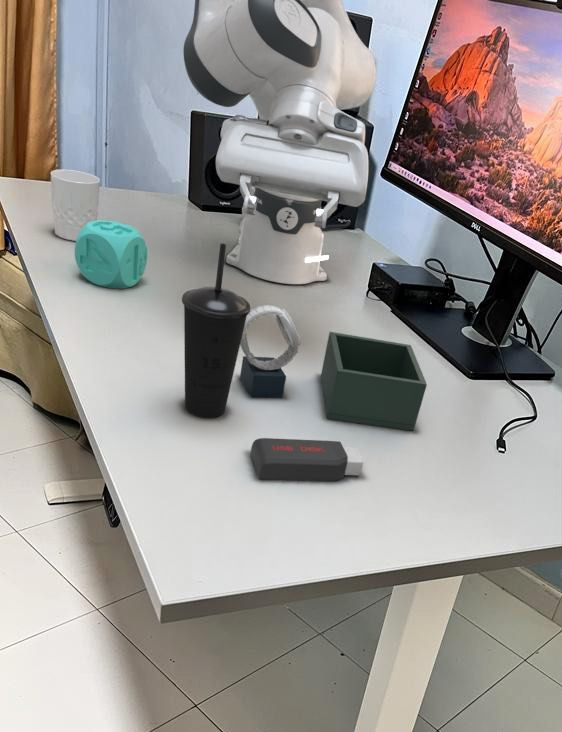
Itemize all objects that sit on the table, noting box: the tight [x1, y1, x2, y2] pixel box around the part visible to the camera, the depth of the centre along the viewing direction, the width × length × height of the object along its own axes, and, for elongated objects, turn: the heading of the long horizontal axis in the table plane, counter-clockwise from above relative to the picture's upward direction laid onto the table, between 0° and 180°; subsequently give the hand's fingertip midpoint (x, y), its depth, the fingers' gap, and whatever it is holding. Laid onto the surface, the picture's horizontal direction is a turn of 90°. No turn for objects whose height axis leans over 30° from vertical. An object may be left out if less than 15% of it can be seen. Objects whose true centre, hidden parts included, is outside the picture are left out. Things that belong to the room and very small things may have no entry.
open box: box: [320, 331, 428, 432], centre depth 102 cm, size 13×12×7 cm
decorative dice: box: [74, 220, 148, 289], centre depth 119 cm, size 8×8×8 cm
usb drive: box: [250, 437, 364, 482], centre depth 86 cm, size 5×12×3 cm, turn 106°
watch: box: [239, 304, 302, 399], centre depth 98 cm, size 6×8×11 cm
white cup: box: [50, 169, 101, 242], centre depth 133 cm, size 8×8×10 cm
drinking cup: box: [181, 242, 252, 419], centre depth 88 cm, size 8×8×20 cm
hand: (284, 218), depth 100 cm, fingers open, 8 cm apart
